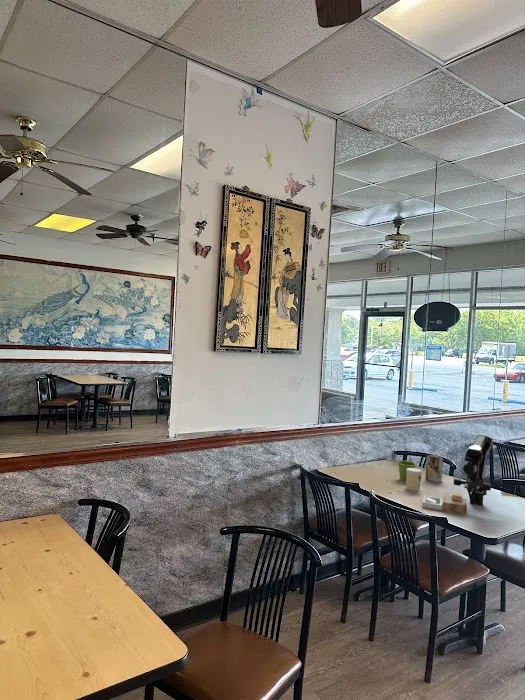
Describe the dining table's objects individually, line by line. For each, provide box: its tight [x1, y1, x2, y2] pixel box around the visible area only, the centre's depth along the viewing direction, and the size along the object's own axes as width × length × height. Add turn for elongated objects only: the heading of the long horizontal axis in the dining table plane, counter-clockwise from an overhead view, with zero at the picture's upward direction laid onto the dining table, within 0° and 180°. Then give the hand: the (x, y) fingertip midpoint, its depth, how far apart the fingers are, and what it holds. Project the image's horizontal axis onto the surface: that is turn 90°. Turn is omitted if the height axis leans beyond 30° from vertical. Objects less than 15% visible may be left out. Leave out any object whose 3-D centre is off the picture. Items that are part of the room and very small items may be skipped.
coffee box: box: [424, 454, 444, 483], centre depth 326 cm, size 9×6×16 cm
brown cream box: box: [441, 494, 468, 516], centre depth 269 cm, size 12×14×5 cm
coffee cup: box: [405, 468, 423, 492], centre depth 302 cm, size 9×9×12 cm
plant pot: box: [397, 460, 417, 482], centre depth 322 cm, size 12×12×11 cm
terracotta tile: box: [451, 492, 463, 501], centre depth 271 cm, size 5×5×2 cm
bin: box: [421, 494, 443, 512], centre depth 273 cm, size 10×14×3 cm
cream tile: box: [425, 497, 436, 504], centre depth 271 cm, size 5×5×2 cm
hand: (470, 499), depth 269 cm, fingers closed
